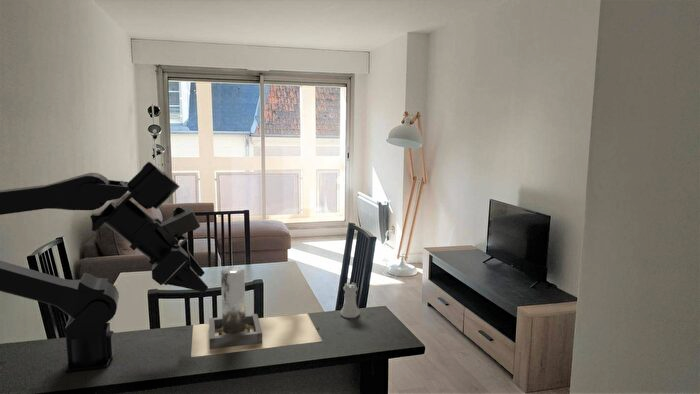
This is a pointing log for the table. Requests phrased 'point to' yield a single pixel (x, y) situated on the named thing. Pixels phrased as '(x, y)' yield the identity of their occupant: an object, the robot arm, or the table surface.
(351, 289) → the rook chess piece
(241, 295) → the grey rounded piece
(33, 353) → the table surface
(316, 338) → the carrier board
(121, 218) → the robot arm
